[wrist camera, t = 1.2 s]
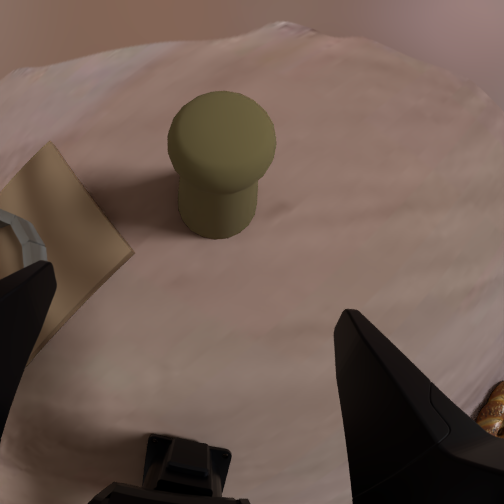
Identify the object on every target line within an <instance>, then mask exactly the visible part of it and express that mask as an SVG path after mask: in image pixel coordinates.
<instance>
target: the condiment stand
mask: <svg viewBox="0 0 504 504" xmlns="http://www.w3.org/2000/svg"><path fill="white" fill-rule="evenodd" d="M134 254H135V252H134V251H133V249H132V248H131V247H130V246H129V245H128V243H127V242H126V241H125V240H124V238H123V237H122V236H121V235H120V233H119V232H118V231H117V230H116V228H115V227H114V226H113V225H112V223H111V222H110V221H109V219H108V218H107V217H106V216H105V214H104V213H103V212H102V210H101V209H100V208H99V206H98V205H97V204H96V203H95V201H94V200H93V199H92V197H91V196H90V195H89V193H88V192H87V190H86V189H85V188H84V186H83V185H82V184H81V182H80V181H79V179H78V178H77V177H76V175H75V174H74V172H73V171H72V170H71V168H70V167H69V165H68V164H67V162H66V161H65V160H64V158H63V157H62V155H61V154H60V152H59V151H58V149H57V148H56V146H55V145H54V144H53V143H52V142H51V141H49V142H48V143H47V144H46V145H45V146H44V147H42V148H41V149H40V150H39V151H38V152H37V153H36V154H35V155H34V156H33V157H32V158H31V159H30V160H29V161H28V162H27V163H26V164H25V165H24V167H23V168H22V169H21V170H20V171H19V172H18V173H17V174H16V175H15V176H14V177H13V178H12V179H11V181H10V182H9V183H8V184H7V185H6V186H5V187H4V189H3V190H2V191H1V192H0V279H2V278H4V277H6V276H8V275H10V274H12V273H14V272H16V271H18V270H20V269H22V268H25V267H27V266H29V265H31V264H33V263H35V262H37V261H39V260H45V261H49V262H51V263H52V264H53V267H54V272H55V277H56V281H57V289H56V292H55V295H54V297H53V300H52V303H51V305H50V308H49V311H48V313H47V316H46V319H45V322H44V324H43V327H42V330H41V332H40V334H39V337H38V339H37V341H36V343H35V345H34V348H33V350H32V352H31V355H30V357H29V359H28V362H27V364H26V366H27V365H28V364H29V363H30V362H31V360H32V359H33V358H34V357H35V356H36V355H37V354H38V352H39V351H40V350H41V349H42V348H43V347H44V346H45V345H46V343H47V342H48V341H49V340H50V339H51V338H52V337H53V336H54V335H55V333H56V332H57V331H58V330H59V329H60V328H61V327H62V326H63V325H64V324H65V323H66V322H67V321H68V319H69V318H70V317H71V316H72V315H73V314H74V313H75V312H76V311H77V310H78V309H79V308H80V307H81V306H82V305H83V304H84V303H85V302H86V301H87V300H88V299H89V298H90V297H91V296H92V295H93V294H94V293H95V292H96V291H97V290H98V289H99V288H100V287H101V286H102V285H103V284H104V283H105V282H106V281H107V280H108V279H109V278H110V277H111V276H112V275H113V274H114V273H115V272H116V271H117V270H118V269H119V268H120V267H121V266H122V265H123V264H124V263H125V262H126V261H127V260H128V259H129V258H131V257H132V256H133V255H134Z"/></svg>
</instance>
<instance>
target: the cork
mask: <svg viewBox="0 0 504 504" xmlns="http://www.w3.org/2000/svg"><path fill="white" fill-rule="evenodd" d="M275 149H276V136H275V130H274V124H273V123H272V121H271V119H270V117H269V116H268V114H267V112H266V111H265V110H264V109H263V108H262V107H261V106H259V105H258V104H257V103H256V102H255V101H254V100H252V99H250V98H248V97H246V96H244V95H242V94H239V93H234V92H229V91H216V92H210V93H206V94H203V95H200V96H198V97H196V98H195V99H193V100H192V101H190V102H189V103H187V104H186V105H184V106H183V107H182V108H181V110H180V111H179V112H178V113H177V114H176V116H175V117H174V119H173V121H172V124H171V127H170V130H169V133H168V154H169V157H170V159H171V162H172V164H173V167H174V169H175V171H176V172H177V173H178V174H179V175H180V180H179V191H178V208H179V212H180V215H181V217H182V219H183V221H184V223H185V224H186V225H187V226H188V227H189V228H190V229H191V230H192V231H193V232H195V233H197V234H198V235H200V236H202V237H206V238H210V239H224V238H229V237H231V236H234V235H236V234H238V233H240V232H241V231H242V230H243V229H245V228H246V227H247V226H248V225H249V223H250V222H251V220H252V218H253V216H254V215H255V210H256V205H257V191H258V180H259V179H260V178H262V177H263V176H264V174H265V172H266V171H267V169H268V168H269V166H270V164H271V163H272V161H273V158H274V154H275Z"/></svg>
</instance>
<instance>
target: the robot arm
mask: <svg viewBox="0 0 504 504" xmlns="http://www.w3.org/2000/svg"><path fill="white" fill-rule="evenodd" d="M56 289H57V281H56V277H55V272H54V267H53V264H52V263H51V262H49V261H45V260H39V261H37V262H35V263H33V264H31V265H29V266H27V267H25V268H22V269H20V270H18V271H16V272H14V273H12V274H10V275H8V276H6V277H4V278H2V279H0V442H1V437H2V434H3V430H4V427H5V423H6V420H7V417H8V414H9V411H10V408H11V405H12V402H13V399H14V396H15V393H16V390H17V388H18V385H19V382H20V380H21V377H22V374H23V372H24V369H25V367H26V364H27V362H28V359H29V357H30V355H31V352H32V350H33V348H34V345H35V343H36V341H37V339H38V337H39V334H40V332H41V330H42V327H43V324H44V322H45V319H46V316H47V313H48V311H49V308H50V305H51V303H52V300H53V297H54V295H55V292H56ZM334 348H335V366H336V379H337V386H338V392H339V398H340V405H341V411H342V418H343V425H344V432H345V439H346V447H347V455H348V463H349V472H350V481H351V490H352V502H353V504H504V438H499V437H496V436H493V435H491V434H490V433H488V432H487V431H485V430H484V429H483V428H482V427H481V426H479V425H478V424H477V423H476V422H475V421H474V420H473V419H471V418H470V417H469V416H468V415H467V414H466V413H464V412H463V411H462V410H461V409H460V408H459V407H458V406H456V405H455V404H454V403H453V402H452V401H451V400H450V399H449V398H448V397H447V396H446V395H445V394H444V393H443V392H441V391H440V390H439V389H438V388H437V387H436V386H435V385H434V384H433V383H432V382H431V381H430V380H429V379H428V378H427V377H426V376H425V375H424V374H423V373H422V372H421V371H420V370H419V369H418V368H417V367H416V366H415V365H414V364H413V363H412V362H411V361H410V360H409V359H408V358H407V357H406V356H405V355H404V354H403V353H402V352H401V351H400V350H399V349H398V348H397V347H396V346H395V345H394V344H393V343H392V342H391V341H390V340H389V339H388V338H387V337H385V336H384V335H383V334H382V333H381V332H380V331H379V330H378V329H377V328H376V327H375V326H374V325H373V324H372V323H371V322H370V321H369V320H368V319H367V318H366V317H365V316H363V315H362V314H361V313H360V312H359V311H358V310H355V309H345V310H344V311H343V312H342V314H341V316H340V318H339V320H338V322H337V324H336V326H335V329H334ZM152 439H156V440H157V441H158V442H154V441H153V440H152ZM223 454H228V456H225V457H224V456H222V455H223ZM231 457H232V455H231V452H230V451H229V450H228V449H223V448H217V447H211V446H208V445H207V444H204V443H199V442H194V441H189V440H185V439H180V438H174V439H173V438H169V437H165V436H161V435H157V434H152V435H150V437H149V439H148V444H147V452H146V459H145V467H144V475H143V484H142V487H138V486H133V485H128V484H124V483H117V482H113V483H112V484H110V485H109V486H108V487H106V488H105V489H104V490H102V491H101V492H100V493H98V494H97V495H96V496H95V497H94V498H93V499H92V500H91V501H89V503H88V504H250V502H249V500H248V499H239V500H235V499H234V498H226V497H222V492H223V488H224V484H225V481H226V477H227V473H228V469H229V465H230V461H231Z"/></svg>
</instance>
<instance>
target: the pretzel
mask: <svg viewBox="0 0 504 504" xmlns="http://www.w3.org/2000/svg"><path fill="white" fill-rule="evenodd" d="M476 423H477V424H478V425H479V426H481V427H482V428H483V429H484V430H485V431H487V432H488V433H490V434H491V435H493V436H496V437H499V438H504V381H503V382H501V383H500V384H499V385H498V386H497V387H496V388H495V389H494V391H493V392H492V394H491V396H490V398H489V400H488V403H487V404H486V405H485V406H484V407H483V408H482V409H481V411H480V412H479V414H478V417H477V420H476Z"/></svg>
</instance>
